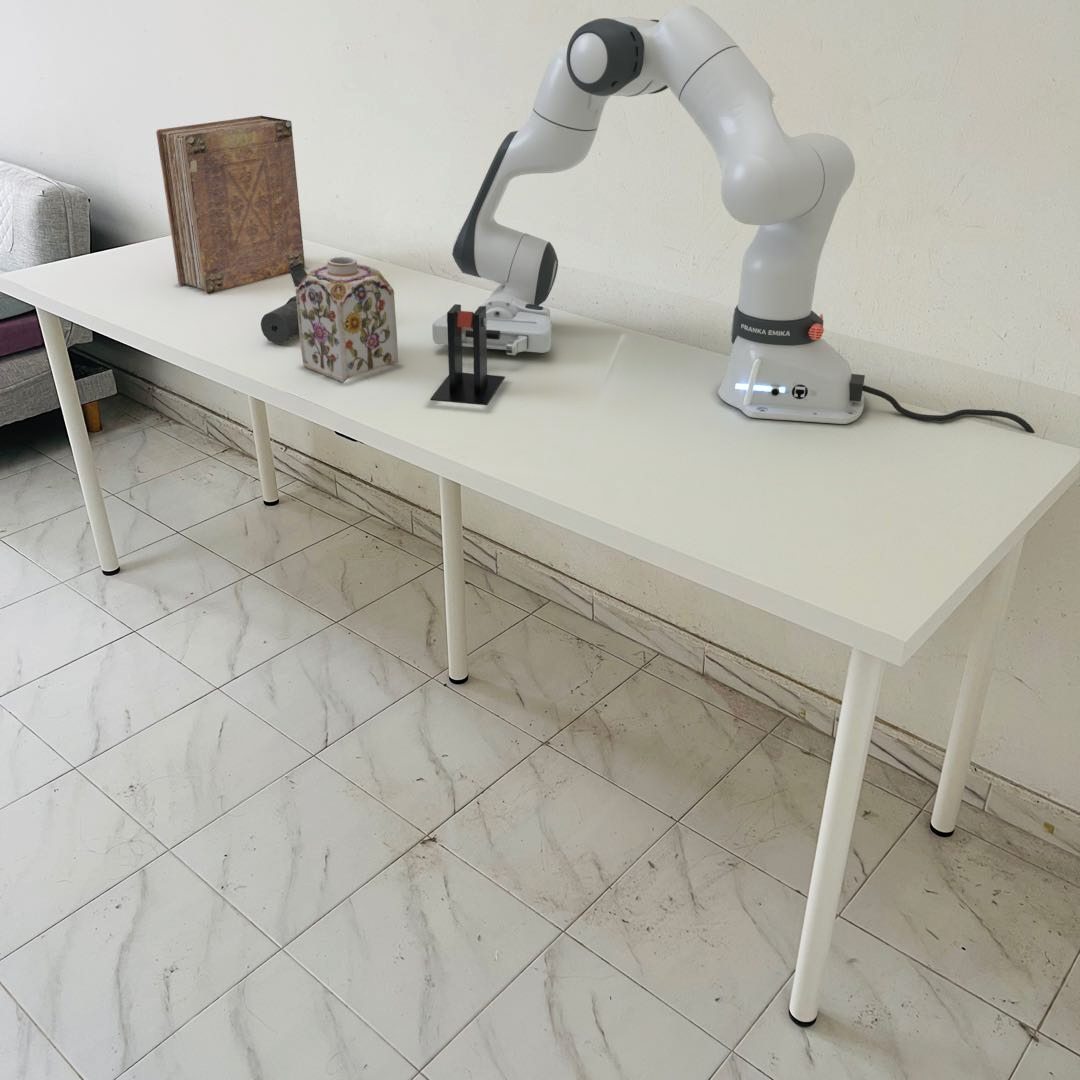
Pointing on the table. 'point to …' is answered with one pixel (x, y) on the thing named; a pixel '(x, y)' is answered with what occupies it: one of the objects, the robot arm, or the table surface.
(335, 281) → the decorative jar
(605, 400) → the table surface
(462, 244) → the robot arm
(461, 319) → the switch lever
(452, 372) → the switch bracket
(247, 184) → the book
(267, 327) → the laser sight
